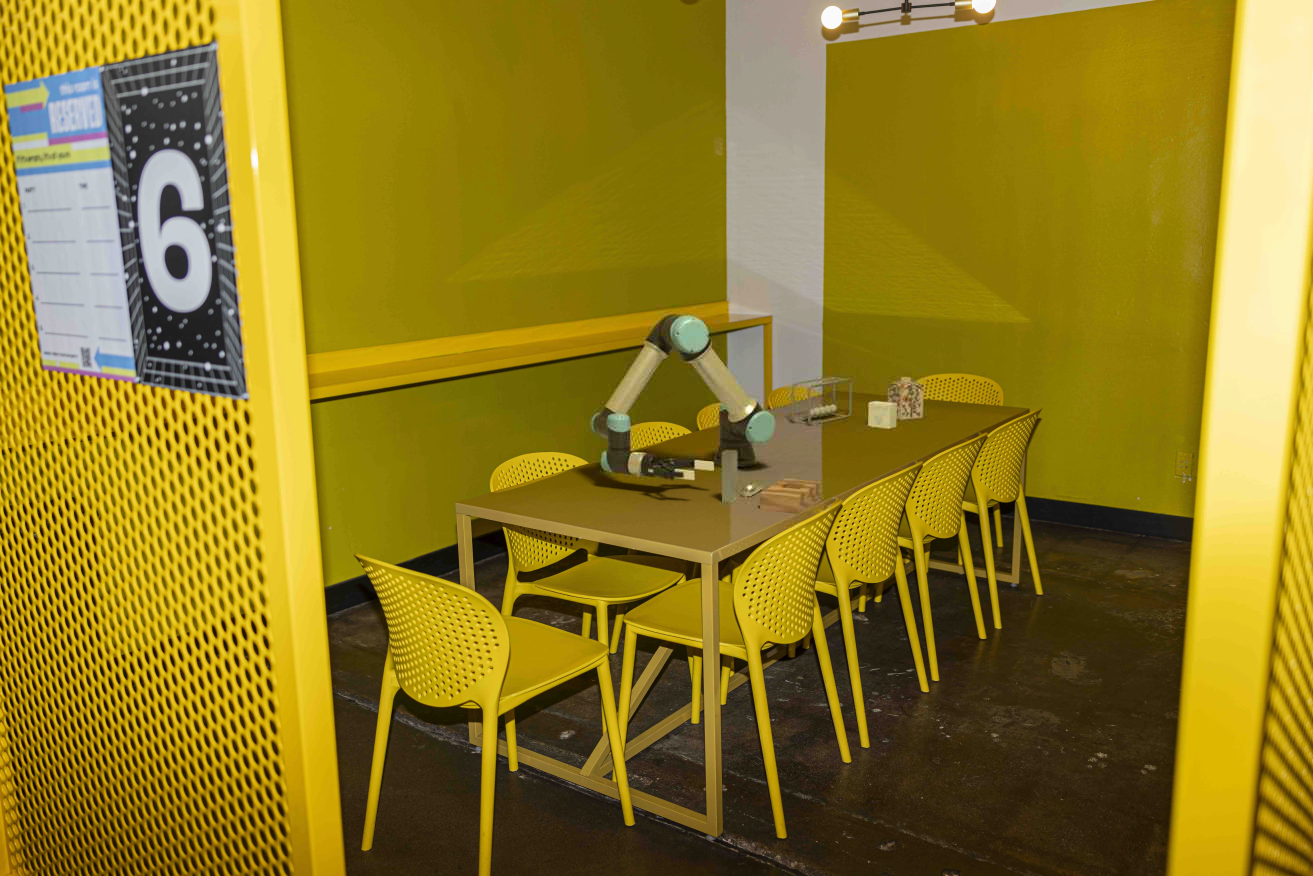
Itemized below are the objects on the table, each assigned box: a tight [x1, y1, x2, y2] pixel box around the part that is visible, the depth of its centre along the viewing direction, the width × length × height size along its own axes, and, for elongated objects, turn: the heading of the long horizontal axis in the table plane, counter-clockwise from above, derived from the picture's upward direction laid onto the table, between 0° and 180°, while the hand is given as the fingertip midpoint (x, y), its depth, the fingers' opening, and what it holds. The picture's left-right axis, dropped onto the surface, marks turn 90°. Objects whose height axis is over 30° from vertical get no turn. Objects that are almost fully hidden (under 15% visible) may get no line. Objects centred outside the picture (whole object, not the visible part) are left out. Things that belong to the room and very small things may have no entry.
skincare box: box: [867, 400, 898, 430], centre depth 418 cm, size 10×6×10 cm, turn 49°
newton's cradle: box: [790, 376, 853, 426], centre depth 436 cm, size 30×10×18 cm, turn 132°
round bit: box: [740, 479, 765, 498], centre depth 315 cm, size 10×4×4 cm
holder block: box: [759, 477, 822, 514], centre depth 302 cm, size 20×12×5 cm, turn 151°
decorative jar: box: [887, 376, 925, 421], centre depth 437 cm, size 12×12×18 cm
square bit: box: [721, 450, 738, 504], centre depth 304 cm, size 4×4×16 cm
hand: (703, 470), depth 308 cm, fingers open, 13 cm apart
